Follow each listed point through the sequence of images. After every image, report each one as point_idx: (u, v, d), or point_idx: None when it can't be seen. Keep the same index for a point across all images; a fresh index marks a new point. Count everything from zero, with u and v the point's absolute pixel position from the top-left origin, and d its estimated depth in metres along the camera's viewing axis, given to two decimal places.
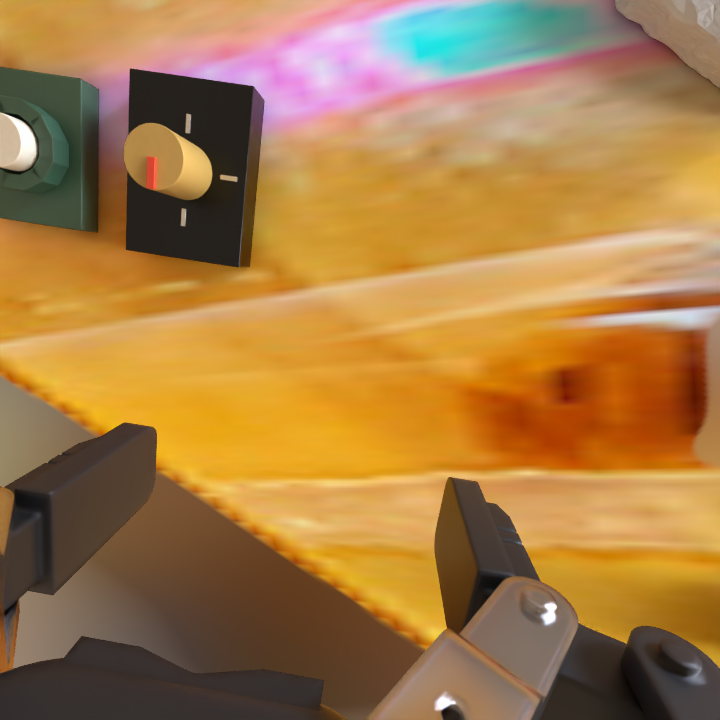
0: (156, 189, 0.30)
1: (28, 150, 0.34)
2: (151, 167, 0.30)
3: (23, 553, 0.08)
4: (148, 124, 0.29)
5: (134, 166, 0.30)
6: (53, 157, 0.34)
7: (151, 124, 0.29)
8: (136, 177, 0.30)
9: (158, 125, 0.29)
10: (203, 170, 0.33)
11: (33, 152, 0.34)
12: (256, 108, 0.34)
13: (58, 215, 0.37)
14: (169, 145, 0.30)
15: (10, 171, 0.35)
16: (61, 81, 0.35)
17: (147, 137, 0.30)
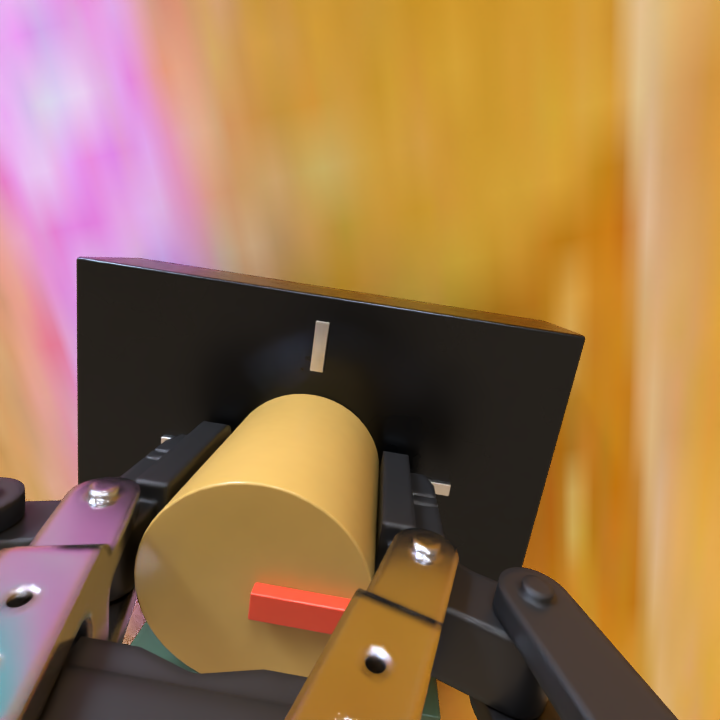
0: None
1: None
2: (288, 611, 0.07)
3: None
4: (140, 592, 0.08)
5: (287, 661, 0.08)
6: None
7: (139, 583, 0.08)
8: None
9: (139, 560, 0.08)
10: (299, 415, 0.10)
11: None
12: (141, 263, 0.13)
13: None
14: (206, 530, 0.07)
15: None
16: None
17: (184, 603, 0.08)
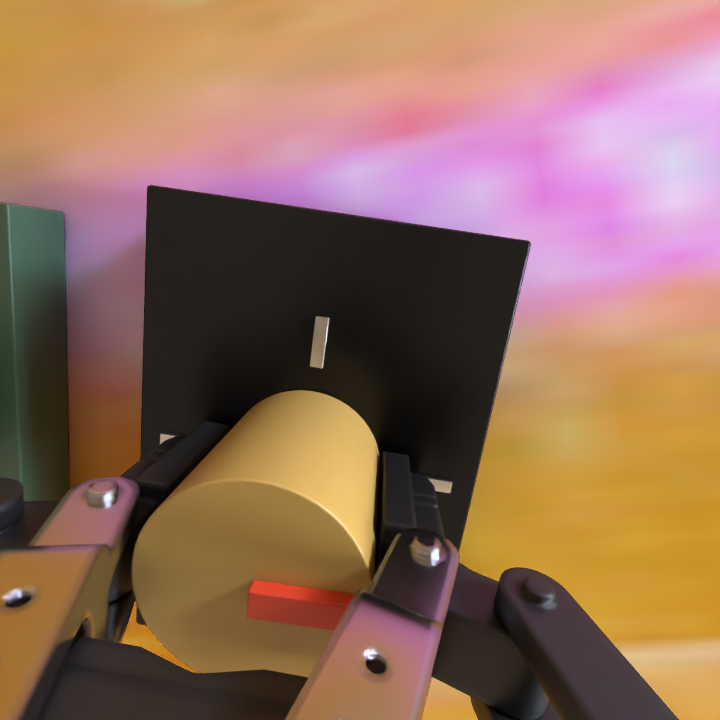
0: None
1: None
2: (287, 608, 0.07)
3: None
4: (138, 594, 0.08)
5: (289, 659, 0.08)
6: None
7: (136, 585, 0.08)
8: None
9: (135, 561, 0.08)
10: (294, 411, 0.10)
11: None
12: None
13: None
14: (201, 529, 0.07)
15: None
16: None
17: (183, 603, 0.08)
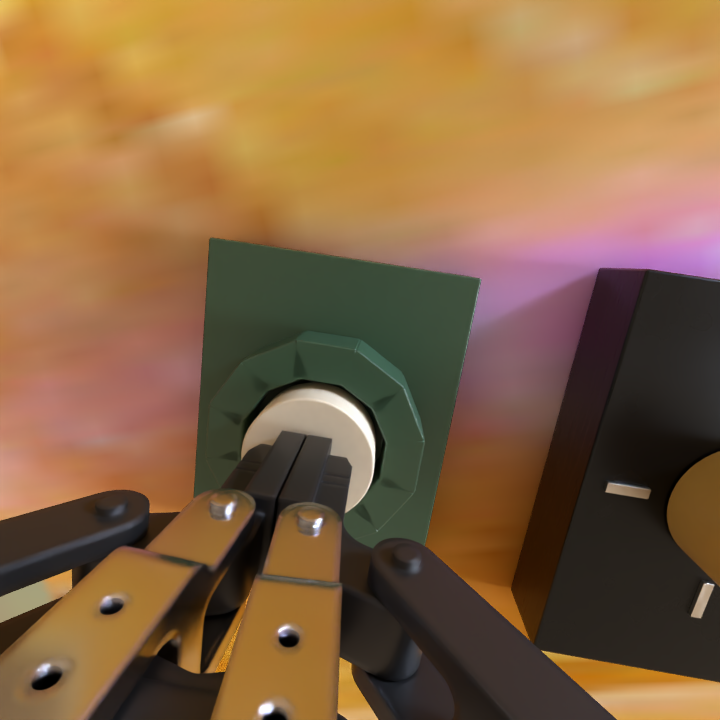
0: None
1: None
2: None
3: (256, 549, 0.09)
4: None
5: None
6: (416, 483, 0.13)
7: None
8: None
9: None
10: None
11: None
12: None
13: None
14: None
15: None
16: (428, 284, 0.14)
17: None
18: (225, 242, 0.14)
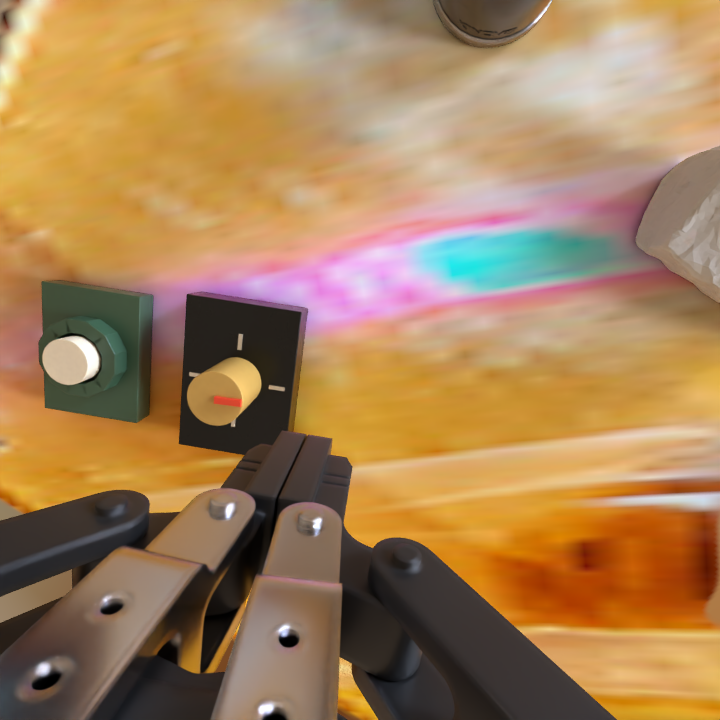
0: (242, 398, 0.33)
1: (93, 368, 0.36)
2: (222, 400, 0.32)
3: (256, 549, 0.09)
4: (188, 401, 0.33)
5: (224, 416, 0.33)
6: (114, 371, 0.37)
7: (188, 398, 0.33)
8: (233, 415, 0.33)
9: (188, 392, 0.33)
10: (230, 361, 0.35)
11: (97, 367, 0.37)
12: (302, 324, 0.37)
13: (115, 410, 0.40)
14: (203, 383, 0.32)
15: None
16: (121, 298, 0.37)
17: (199, 402, 0.33)
18: (47, 283, 0.37)
